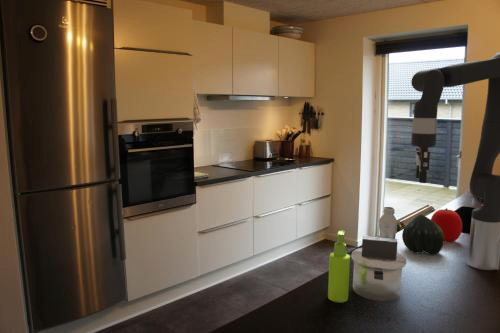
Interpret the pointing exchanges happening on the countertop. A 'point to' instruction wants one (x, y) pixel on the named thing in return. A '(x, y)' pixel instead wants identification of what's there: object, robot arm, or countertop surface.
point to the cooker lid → (379, 254)
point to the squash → (423, 236)
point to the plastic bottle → (388, 223)
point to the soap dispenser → (339, 271)
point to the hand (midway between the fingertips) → (420, 180)
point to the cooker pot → (376, 283)
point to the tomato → (448, 224)
